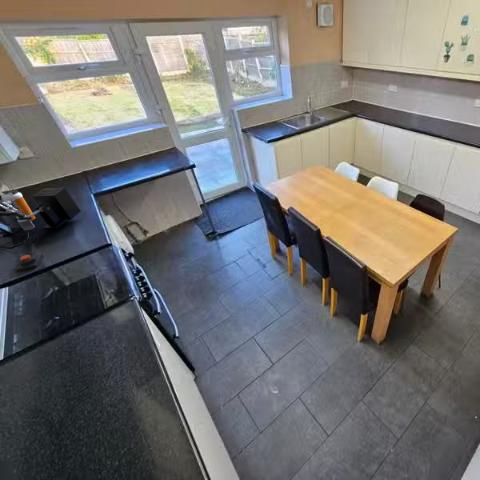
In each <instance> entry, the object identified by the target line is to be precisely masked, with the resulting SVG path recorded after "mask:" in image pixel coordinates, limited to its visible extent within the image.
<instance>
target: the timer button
mask: <svg viewBox="0 0 480 480" xmlns="http://www.w3.org/2000/svg"><path fill="white" fill-rule="evenodd" d="M30 255H31V254H25V255H23V256H21V257H20V259H21V260H22V261H23V262H25V261H28V260H30V259H31V257H30ZM20 259H19V260H20Z"/></svg>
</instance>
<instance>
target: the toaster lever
mask: <svg viewBox="0 0 480 480" xmlns="http://www.w3.org/2000/svg"><path fill="white" fill-rule="evenodd" d="M42 207H43V206H41V207H39V210H37V211H36V210H35V211H34V212H33V211H32V214H30V215H28V216H26V217H23V218H18V219H17V220H31V219H32V218H31V216H33V215H34V216H35V215H37V214H39V212H41V211H44V210H43V209H42Z"/></svg>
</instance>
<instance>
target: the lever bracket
mask: <svg viewBox="0 0 480 480" xmlns="http://www.w3.org/2000/svg"><path fill="white" fill-rule="evenodd" d="M41 206H43V205H42V204H40V205H39V204H38V205H37V206H36V207H34V209H35V211H37V210H39V207H41ZM42 209H43V210H44V211H41V212H39V213H38V215H39V216H40V217H41V218H42V220H43V221H44V223H46V224H45V225H44V226H43V227H42V229H43V230H57V229H59V228H60V227H62V225H64V224H65V223H66V222H67V221H68V220H67V218H62V219H59V217H58V216H57V215H56V213H55V212H54V211H53V209H52V208H51V207H50V206H49V204H46V205H45V206H43V207H42Z"/></svg>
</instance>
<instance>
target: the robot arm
mask: <svg viewBox="0 0 480 480" xmlns="http://www.w3.org/2000/svg"><path fill="white" fill-rule="evenodd" d="M9 204H10V205H12V206H10V205H9ZM10 216H14V217H16V216H17V217H19V218H23V217H24V216H25V214H24V213H22V212H20V211H18V206H17V204H16V203H15V201H14V200H12V201H6V200H2V198H1V197H0V217H10ZM17 217H16V218H17Z"/></svg>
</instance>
